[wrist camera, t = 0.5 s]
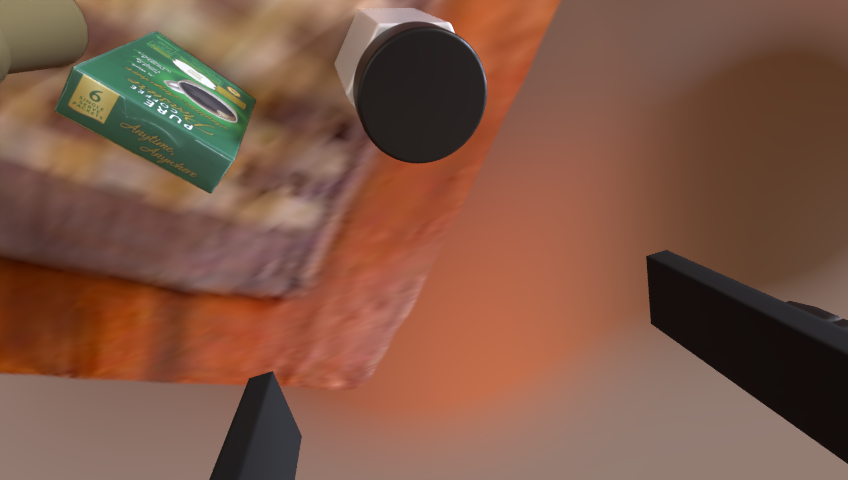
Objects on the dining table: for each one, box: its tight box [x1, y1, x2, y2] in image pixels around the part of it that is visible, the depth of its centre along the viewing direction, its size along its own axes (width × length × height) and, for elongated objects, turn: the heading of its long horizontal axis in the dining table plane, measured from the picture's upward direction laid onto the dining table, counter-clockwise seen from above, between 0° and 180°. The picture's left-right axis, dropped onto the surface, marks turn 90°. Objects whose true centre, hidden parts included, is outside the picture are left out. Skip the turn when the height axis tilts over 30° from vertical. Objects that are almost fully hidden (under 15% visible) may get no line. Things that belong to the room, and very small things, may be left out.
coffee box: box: [55, 31, 256, 193], centre depth 26 cm, size 8×3×13 cm, turn 48°
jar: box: [334, 8, 487, 163], centre depth 29 cm, size 9×8×12 cm
